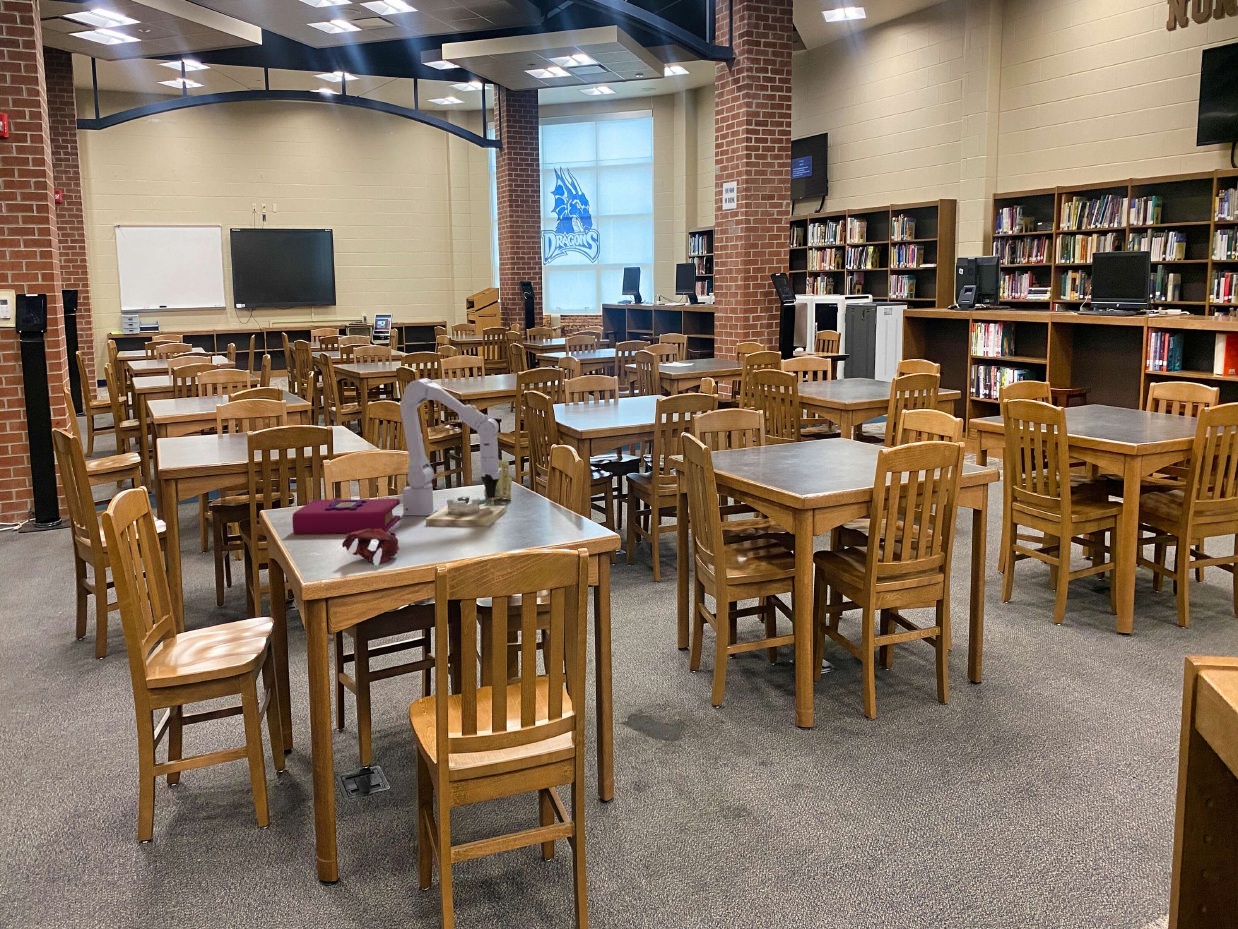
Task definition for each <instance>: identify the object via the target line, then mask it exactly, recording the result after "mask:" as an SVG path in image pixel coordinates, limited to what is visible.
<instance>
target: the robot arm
mask: <svg viewBox="0 0 1238 929" xmlns="http://www.w3.org/2000/svg"><path fill="white" fill-rule="evenodd" d="M425 400H427V401H429V400H430V401H431V400H432V401H438V402H439V403H441V404H443V405H445V406H446V407H448V408H449V409H450V410H452V411H454V412H455V413H457V415H458V419H459V420H460V421H462V422H463V423H465V424H466V425H468V427H470V428H471V429H473V430H475V431H476V433H477V435H478V436H479V455H480V457H479V458H480V474H483V476H480V479H481V480H482V482H483V483H482V484H483V486H484V490H485V489H486V495H487V498H495V491H496V485H497V482H498V480H499V478H500V477H499V472H500V471H502V469H501V468H499V465H498V459H499V442H498V434H497V433H498V432H499V429H500V428H499V427H500V426H499V423H498V422H497V421H496V420H495V419H494V418H493V417H489V415H488V414H484V413H483V412H481V411H480V410H478V409H477V406H476V405H471V404H466V405H465V404H463V403H462V402H460V400H458V399H457V398H456V397H454V396H453V395H451V394H450V393H449V392H447V391H446V390H445V389H444V388H442V387H441V386H440V385H439V384H438V383H436V382H433V381H432V380H431V379H430V378H426V377H424V378H419V379H416V380H415V379H414V380H412V381H410V382H409V383H408V384H407V386H406V387H405V388H404V393H403V395H402V398H401V401H400V404H399V410H400V414H401V420H402V426H403V431H404V436H405V441H406V445H407V451H408V458H409V461H408V464H407V470H408V474H407V475H406V476H407V477H406V478H407V483H408V484H409V486H405V487H404V488H403V491H402V509H403V510H402V512H403V513H402V516H426V517H427V516H428V517H429V516H431V515H433V514H434V513H436V512H437V511H439V509H437V508H434V490H433V483H432V480H433V479H434V478H435V471H434V469H433V467H432V466H431V463H430V460H429V458H428V456H426V451H425V445H424V441H423V435H422V430H421V428H422V427H421V425H420V424H421V423H420V417H419V412H418V408H419V407H420V406H421V404H422V403H423V402H424V401H425Z"/></svg>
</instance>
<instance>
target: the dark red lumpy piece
mask: <svg viewBox="0 0 1238 929" xmlns="http://www.w3.org/2000/svg"><path fill="white" fill-rule="evenodd" d="M396 535H397V534H396V532H390V533H388V532H385V531H383V530H382V529H370V528H368V529H365V530H359V531H356V532H351V533H350V534H348V535H347V536H345V538H344V540H343V542H342V543H341V545H342V548H345V549H346V550H347V552H346V554H347V555H349V556H351V555H354V556H361V558H363V559H365V560H366V561H367V560H368V561H367V562H369V560H370V562H373V564H374V565H375V566H379V565H382V564H383V563H386V562H389V560H390V558H393V557H395V555H396V554H398V551H399V550H400V547H399V539H398V538H397V537H396ZM381 563H382V564H381Z"/></svg>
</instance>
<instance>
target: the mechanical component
mask: <svg viewBox="0 0 1238 929" xmlns="http://www.w3.org/2000/svg"><path fill="white" fill-rule="evenodd" d="M498 465H499V468H501V469H502V471H500V472H499V477H500V478H499V480H498V482H497V485H496V491H495V498H491V499H492V502H491V505H490V506H494V504H495V503H494V500H496V501H497V500H502V499H503V498H504V499H506V501H512V484H513V478H512V477H510V475H509V468H510V466H509V465H510V462H509V460H502V459H499V458H498ZM483 493H484V492H483ZM483 496H484V497H485V493H484V495H483ZM504 499H503V500H504Z"/></svg>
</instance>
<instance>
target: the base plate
mask: <svg viewBox="0 0 1238 929" xmlns="http://www.w3.org/2000/svg"><path fill="white" fill-rule="evenodd" d="M506 508H507V507H506V505H493V506H491V505H479V510H480V511H479V512H478V513H476V514H471V515H451V514H448V504H446V505H444V506H443V507H441V508H440V509H438V511H436V512H435V513H433V514H432V515H430V516H428V517H426V518H425V525H426V526H438V525H450V526H449V527H451V526H452V527H453V526H454V527H489V526H490V525H492V524H493V523H494V522H496V521H497V520H498V519H499V518H500V517H502V516H501V515H504V514H505V513H506V512H507V509H506Z"/></svg>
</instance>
